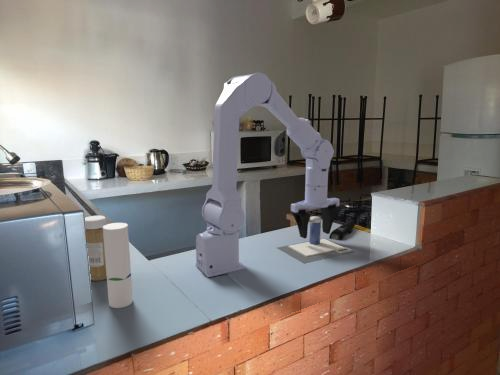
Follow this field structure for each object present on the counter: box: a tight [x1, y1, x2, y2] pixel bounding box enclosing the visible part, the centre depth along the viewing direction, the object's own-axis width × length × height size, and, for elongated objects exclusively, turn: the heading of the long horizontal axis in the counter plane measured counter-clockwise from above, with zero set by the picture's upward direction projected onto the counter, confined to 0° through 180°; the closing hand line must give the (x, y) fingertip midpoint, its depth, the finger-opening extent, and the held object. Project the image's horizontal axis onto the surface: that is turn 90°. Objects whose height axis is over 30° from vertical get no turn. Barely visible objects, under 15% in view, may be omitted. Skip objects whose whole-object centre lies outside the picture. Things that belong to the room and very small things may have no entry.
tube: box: [103, 222, 134, 309], centre depth 71 cm, size 4×4×15 cm
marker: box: [309, 216, 322, 245], centre depth 102 cm, size 3×3×7 cm
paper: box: [287, 238, 345, 257], centre depth 100 cm, size 12×8×1 cm, turn 119°
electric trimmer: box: [328, 218, 356, 241], centre depth 113 cm, size 4×16×3 cm, turn 147°
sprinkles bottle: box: [84, 215, 107, 282], centre depth 82 cm, size 5×5×14 cm
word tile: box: [334, 246, 353, 254], centre depth 98 cm, size 4×2×1 cm, turn 118°
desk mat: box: [276, 238, 356, 264], centre depth 99 cm, size 16×12×1 cm
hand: (314, 235), depth 103 cm, fingers open, 7 cm apart
